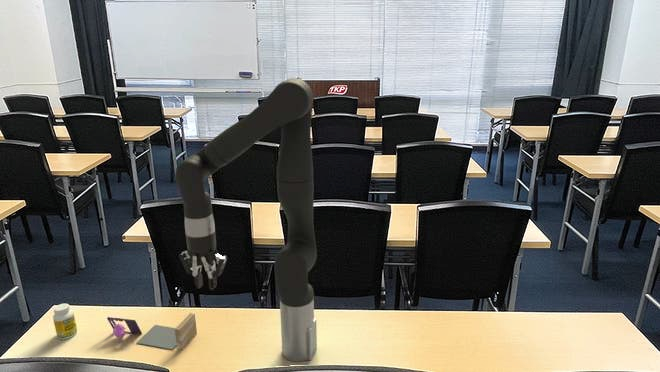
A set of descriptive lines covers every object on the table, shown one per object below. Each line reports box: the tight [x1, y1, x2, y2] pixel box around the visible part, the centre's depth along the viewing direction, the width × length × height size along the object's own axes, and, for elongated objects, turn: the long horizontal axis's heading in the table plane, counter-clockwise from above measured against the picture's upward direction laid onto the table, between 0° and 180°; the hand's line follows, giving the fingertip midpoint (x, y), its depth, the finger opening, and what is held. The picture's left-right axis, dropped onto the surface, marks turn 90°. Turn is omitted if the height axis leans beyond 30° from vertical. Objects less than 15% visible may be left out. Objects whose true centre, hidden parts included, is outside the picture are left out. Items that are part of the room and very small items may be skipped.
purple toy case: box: [106, 316, 143, 343], centre depth 134 cm, size 7×5×9 cm
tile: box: [174, 312, 198, 352], centre depth 131 cm, size 2×8×7 cm, turn 165°
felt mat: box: [136, 324, 177, 351], centre depth 134 cm, size 12×9×1 cm
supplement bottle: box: [52, 303, 78, 340], centre depth 135 cm, size 5×5×10 cm
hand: (206, 287), depth 125 cm, fingers open, 3 cm apart
